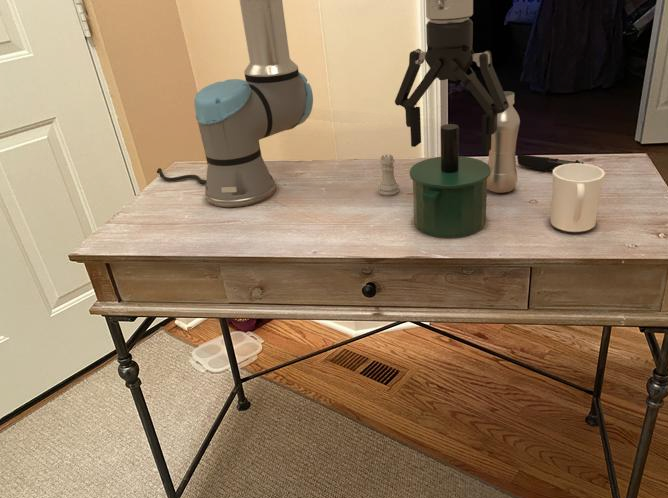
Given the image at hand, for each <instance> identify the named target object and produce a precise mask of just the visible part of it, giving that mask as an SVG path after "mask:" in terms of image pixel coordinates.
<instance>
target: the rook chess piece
mask: <svg viewBox="0 0 668 498" xmlns="http://www.w3.org/2000/svg"><path fill="white" fill-rule="evenodd" d="M395 161H396V159H394V156H393V155H392V154H385V155H384V154H383V155H381V156H380V160H379V163H380V165H381V167H380V169H381V180H380V183H379V184H378V193H379V194H380V195H382V196H383V197H384V196H385V197H390V196H395V195H397V194H398V192H399V191H400V188H399V183H398V182H397V179H396V178H395V173H394V169H395V166H394V163H395Z"/></svg>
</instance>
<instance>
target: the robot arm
mask: <svg viewBox="0 0 668 498" xmlns="http://www.w3.org/2000/svg"><path fill="white" fill-rule="evenodd" d="M239 6H240V12H241V18H242V25H243V29H244V36H245V42H246V47H247V53H248V60H249V63H248V64H247V67H246V68H245V69H244V73H243V74H244V78H245V79H240V78H232V79H225V80H224V81H216V82H214V83H210V84H209V85H206V86H204V87H203V88H201V89H199V91H198V92H197V93H196V95H195V97H194V98H193V99H194V100H193V103H194V112H195V119H196V121H197V125H198V129H199V133H200V138H201V142H202V147H203V150H204V154H205V159H206V164H207V166H206V179H202V178H201V177H200V176H199V175H197V174H184V175H180V176H175V177H174V176H173V177H168V176H166V175H165V174H164V173H163V170H162V168H161V167H159V168H157V170H156V174H159V176H160V178H161V179H162V180H164V181H166V182H177V181H182V180H186V179H196V181H197V182H198V183H200V184H202V185H203V184H205V186H204V194H205V198H206V201H207V202H208V203H209V204H211V205H212V206H214V207H215V206H216V207H219V208H221V207H222V208H240V207H247V206H251V205H254V204H258V203H261V202H263V201H265V200H267V199H269V198H271V197H272V196H273V195H274V194H275V192H276V190H277V189H276V181H275V179H274V177H273V175H272V174H271V173H270V172H269V169H268V166H267V164H266V163H265V159H263V156H262V152H261V145H260V140H263V139H265V138H268V137H271V136H274V135H276V134H279V133H282V132H284V131H289V130H294V129H295V128H296V127H297V126H300V125H302V124H303V123H305V122H306V121H307V119H308V118H309V117H310V115H311V113H312V112H313V111H312V110H313V105H314V96H313V95H314V93H313V90H312V89H313V88H312V86H311V84H310V83H309V82H308V79H307V77H306V76H305V75H304V74H303V73H301V72H300V71H299V65H298V64H296V63H295V62H294V61H293V60H292V59H291V56H290V50H289V42H288V33H287V27H286V17H285V12H284V11H285V10H284V4H283V0H239ZM473 15H474V0H425V17H426V18H427V20H429V21H427V23H426V24H425V31H426V32H425V33H426V35H425V36H426V47H427V48H426V51H422V49H421V48H416V49H414V50H412V51H410V52H409V58H408V66H407V69H406V70H405V71H406V72H405V74H404V76H403V78H402V82H401V85H400V86H399V89H398V92H397V94H396V97H395V100H394V104H395V105H396V106H400V107H402V108H404V110H405V125H406V127H407V128H410V145H411V146H410V147H413V148H416V147H417V146H419V145H420V144H422V127H421V126H422V125H421V106H417V105H418V103H419V101H420V100H421V98H423V96H424V94H425V93H426V92H427V91H428V89H429V88H430V86H431V85H432V84H433V83H434V81H435V80H436V79H438V80H439V81H446V80H449V81H453V82H457V81H458V80H459V81H460V82H461V83H462V84H463V85H465V86H466V87H467V89H468V91H470V93H471V94H472V96H473V97H474V99H475V100H476V101H477V102H478V104H479V106H480V107H481V108H482V109H483V111H484V112H485V114H483V115H482V117H481V118H482V120H481V121H482V123H481V155H487V154H489V151H490V150H491V136H492V134H494V133H495V132H496V130H497V115H498V113H503V112H504V111H505V110H506V109H508V107H509V104H508V101H507V99H506V96H505V94H504V92H505V91H504V89H503V87H502V85H501V82H500V80H499V78H498V75H497V72H496V71H495V68H494V66H493V57H492V52H491V51H490V50H486V51H484V52H478V53H477V52H476V53H475V52H474V50H473V39H474V37H473V35H474V30H473V29H474V21H472V19H471V18H470V17H472V16H473ZM424 62H426V64H427V65H428V67H429V70H428V71H427V72H426V74H425V75H424V76H423V78H422V80H421V81H420V82H419V84H418V86H417V87H416V88H415V89H414V91H413V92H412V93H411V90H412V88H413V86H414V83H415V80H416V78H417V76H418V73H419V71H420V68H421V66H422V64H423V63H424ZM474 62H475V64H476V66H477V67H478V68H479V69H480V73H481V75H482V78H483V80H484V82H485V85H486V87H487V89H488V91H487V89H486V88H485V87H484V85H483V84H482V83H481V81H480V80H479V79H478V77H477V73H476V72H475V71H474V69H473V68H472V65H473V64H474ZM410 93H411V95H410Z"/></svg>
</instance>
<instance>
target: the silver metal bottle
mask: <svg viewBox="0 0 668 498" xmlns="http://www.w3.org/2000/svg"><path fill="white" fill-rule="evenodd" d="M503 92H504V94H505V96H506V99H507V101H508V104H509V107H508V109H506V110H505V111H504V112H503V113H498V115H497V130H496V132H495V133H494V134H492V136H491V150H490V151H489V152H488V158H487V159H488V160H487V164H488V165H489V167H490V169H491V172H490V176H489V177H488V178H487V190H489V191H490V192H492V193H499V194H501V193H502V194H503V193H508V192H511V191H514V189H515V188H516V185H517V182H518V172H517V165H516V164H517V163H516V162H517V161H516V151H517V141H518V140H517V139H518V135H519V130H520V124H521V119H520V115H519V113H518V111H517V110H516V109H515V107H514V106H513V105H514V104H515V92H513V91H503Z"/></svg>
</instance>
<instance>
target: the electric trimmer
mask: <svg viewBox="0 0 668 498" xmlns="http://www.w3.org/2000/svg"><path fill="white" fill-rule="evenodd" d="M516 158H517V164H518V165H519V166H522V167H527V168H531V169H535V170H537V171H542V172H545V171H552V172H553V169H554V168H556V167H558V166H560V165H564V164H572V163H581V164H585V163H584V162H583V161H582V162H580V160H578V159H576V160H574V161H572V160H567V159H566V160H565V159H559V158H554V157H553V158H552V157H549V156H548V157H546V156H537V155H536V156H535V155H528V154H520V153H519V154H517V156H516Z"/></svg>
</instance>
